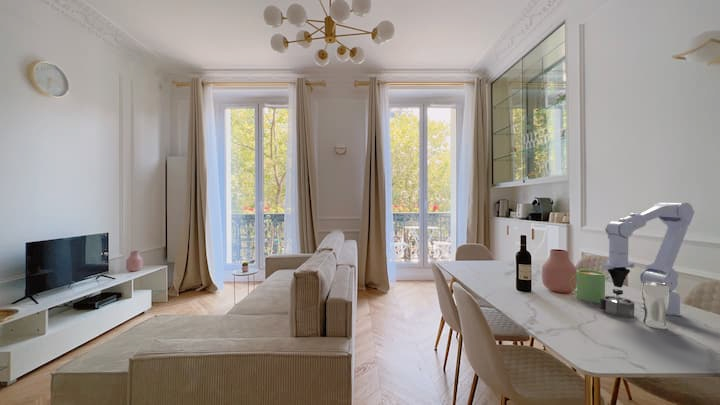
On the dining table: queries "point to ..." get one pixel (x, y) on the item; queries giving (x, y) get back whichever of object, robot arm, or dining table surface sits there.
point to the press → (617, 307)
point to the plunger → (617, 296)
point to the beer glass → (655, 304)
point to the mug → (590, 285)
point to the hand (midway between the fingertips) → (618, 286)
